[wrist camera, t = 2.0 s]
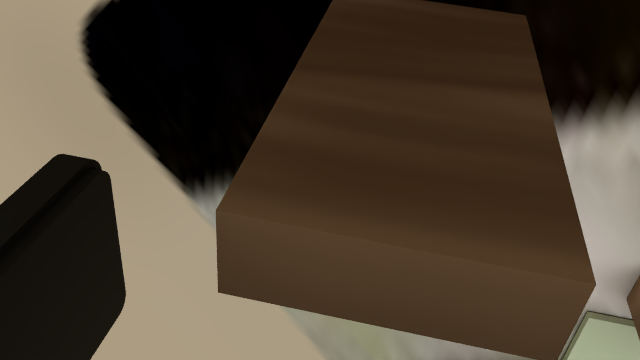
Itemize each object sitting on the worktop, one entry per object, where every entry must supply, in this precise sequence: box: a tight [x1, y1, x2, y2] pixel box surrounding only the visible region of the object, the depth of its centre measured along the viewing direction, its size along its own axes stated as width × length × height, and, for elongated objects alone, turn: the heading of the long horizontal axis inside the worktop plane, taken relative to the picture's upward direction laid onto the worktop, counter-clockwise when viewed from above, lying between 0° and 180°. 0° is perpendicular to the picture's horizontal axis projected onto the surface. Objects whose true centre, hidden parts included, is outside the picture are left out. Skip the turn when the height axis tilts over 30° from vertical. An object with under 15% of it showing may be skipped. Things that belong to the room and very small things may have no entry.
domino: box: [216, 0, 596, 360], centre depth 12 cm, size 2×5×10 cm, turn 85°
